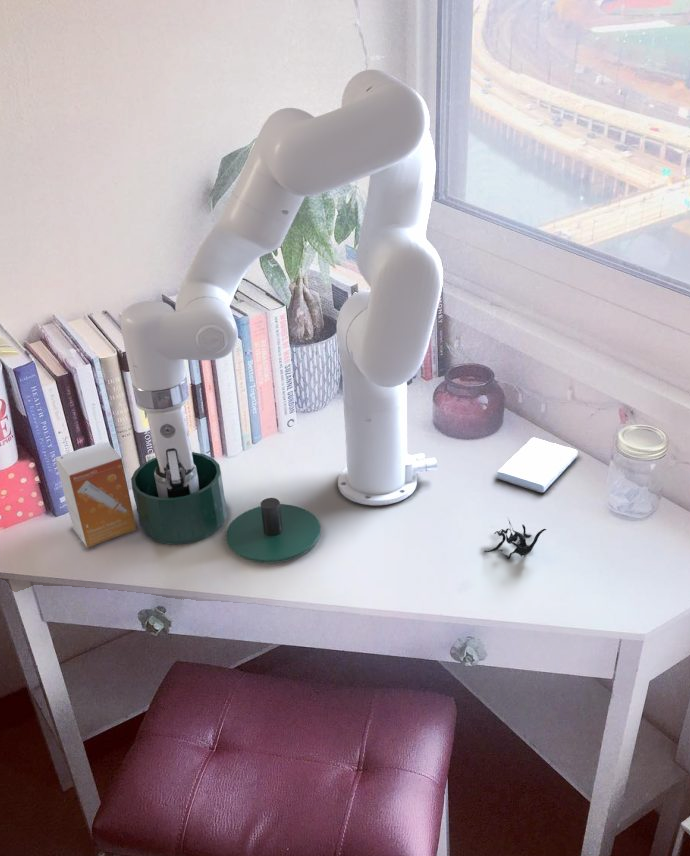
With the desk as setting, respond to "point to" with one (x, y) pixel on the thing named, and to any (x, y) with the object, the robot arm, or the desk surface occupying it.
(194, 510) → the pot
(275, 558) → the lid
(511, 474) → the hard drive
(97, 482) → the small box
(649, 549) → the desk surface
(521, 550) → the creature
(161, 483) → the camera lens
